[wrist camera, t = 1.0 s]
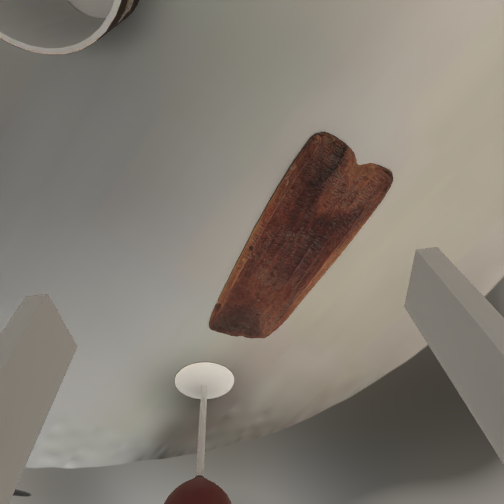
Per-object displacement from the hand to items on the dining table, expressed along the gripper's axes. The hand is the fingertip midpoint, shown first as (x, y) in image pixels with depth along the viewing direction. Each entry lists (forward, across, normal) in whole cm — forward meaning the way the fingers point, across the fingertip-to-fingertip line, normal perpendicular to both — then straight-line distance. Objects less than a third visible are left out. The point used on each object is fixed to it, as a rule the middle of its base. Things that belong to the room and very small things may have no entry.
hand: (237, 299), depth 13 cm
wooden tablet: (+22, +4, -14) cm, 26 cm away
